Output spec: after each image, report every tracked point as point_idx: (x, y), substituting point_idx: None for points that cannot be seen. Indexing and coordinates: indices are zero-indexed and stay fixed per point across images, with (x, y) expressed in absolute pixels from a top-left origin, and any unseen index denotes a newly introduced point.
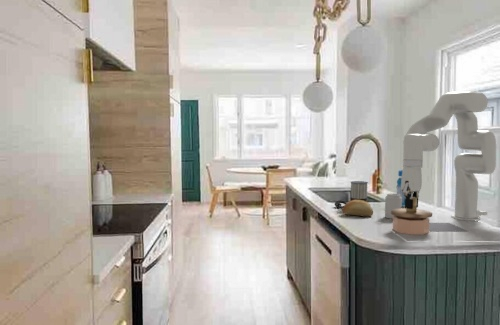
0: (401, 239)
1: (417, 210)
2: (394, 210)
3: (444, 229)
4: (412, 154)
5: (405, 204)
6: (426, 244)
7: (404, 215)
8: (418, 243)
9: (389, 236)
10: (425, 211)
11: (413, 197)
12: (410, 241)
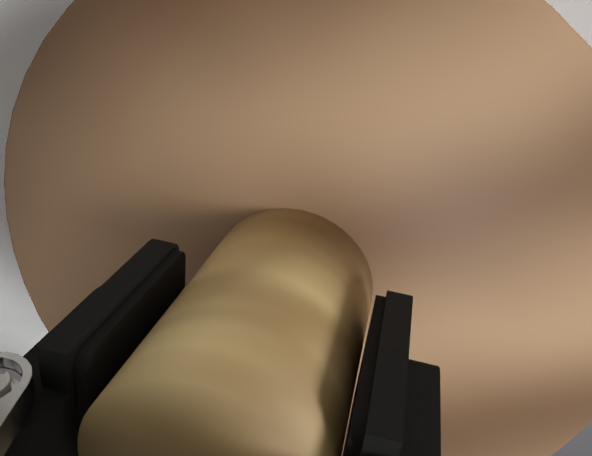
0: (4, 171)
1: (496, 344)
2: None
3: (586, 434)
4: None
5: (121, 279)
6: (20, 340)
7: (18, 236)
8: (2, 296)
9: (12, 50)
10: (464, 444)
11: None
12: (6, 242)
